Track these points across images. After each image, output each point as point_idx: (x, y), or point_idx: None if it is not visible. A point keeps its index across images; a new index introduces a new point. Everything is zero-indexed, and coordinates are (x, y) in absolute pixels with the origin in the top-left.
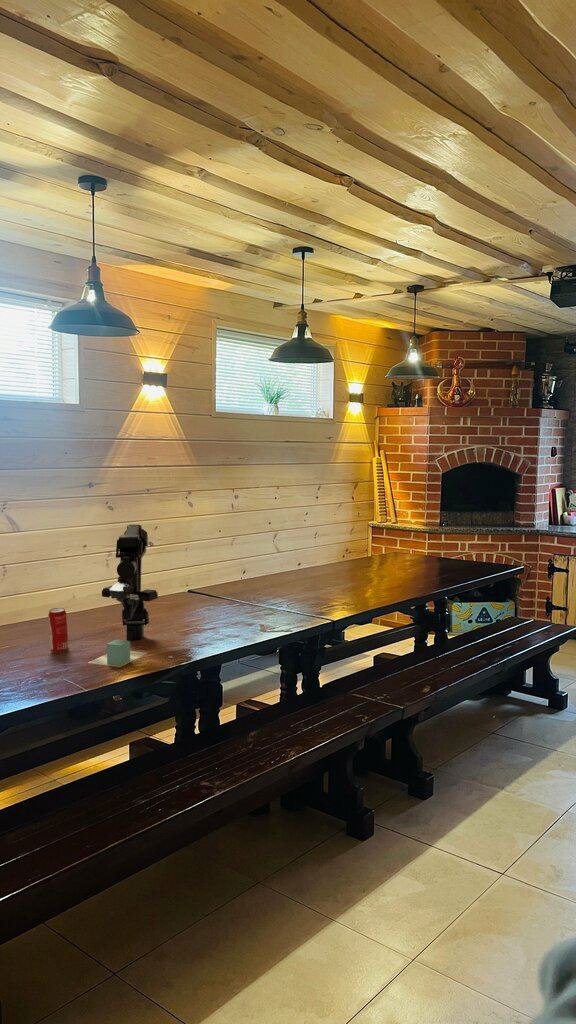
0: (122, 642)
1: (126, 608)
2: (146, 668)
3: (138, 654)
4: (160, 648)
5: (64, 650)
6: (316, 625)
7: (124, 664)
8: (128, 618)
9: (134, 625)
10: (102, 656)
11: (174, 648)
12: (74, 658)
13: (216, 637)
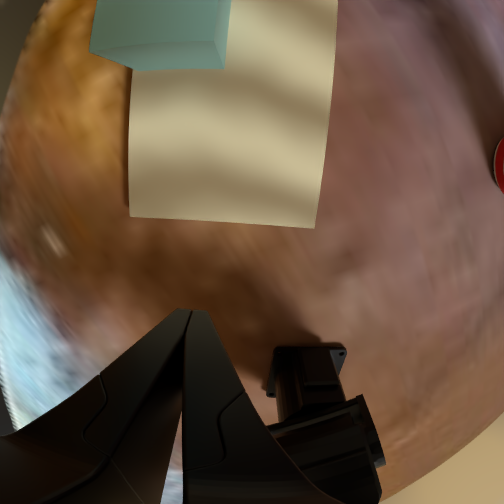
0: (125, 2)
1: (191, 404)
2: (56, 65)
3: (157, 183)
4: (153, 324)
5: (501, 149)
6: None
7: None
8: (199, 310)
9: (308, 412)
10: (325, 89)
11: (108, 334)
12: (441, 87)
13: None
